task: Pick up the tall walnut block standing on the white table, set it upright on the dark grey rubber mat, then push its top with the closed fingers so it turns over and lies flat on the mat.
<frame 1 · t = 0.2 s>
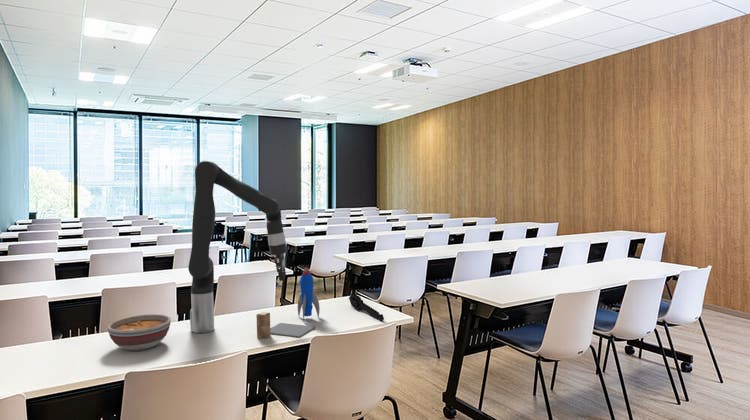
hand: (282, 278, 216), 22 cm above the table, tool pointing down, fingers open, 8 cm apart
black long tapered piece: (365, 314, 238), on the table
rubber mat: (289, 330, 212), on the table
bowl: (141, 346, 194), on the table
walnut block: (263, 336, 204), on the table
toy rocket: (306, 320, 228), on the table
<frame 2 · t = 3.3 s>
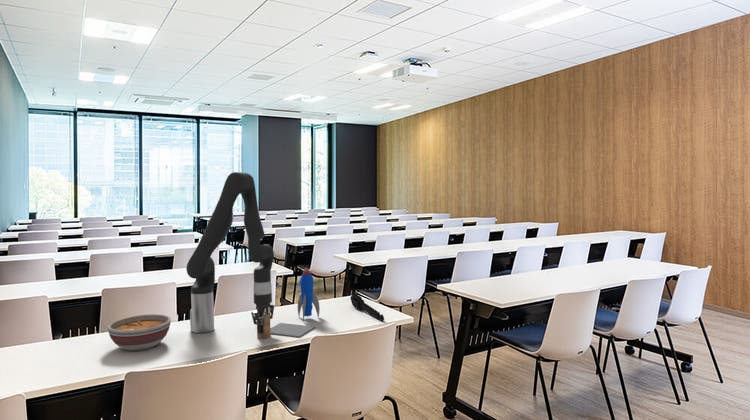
hand: (263, 331, 203), 2 cm above the table, tool pointing down, fingers closed on walnut block, 4 cm apart
walnut block: (263, 336, 204), on the table, touching gripper
everything else where it was.
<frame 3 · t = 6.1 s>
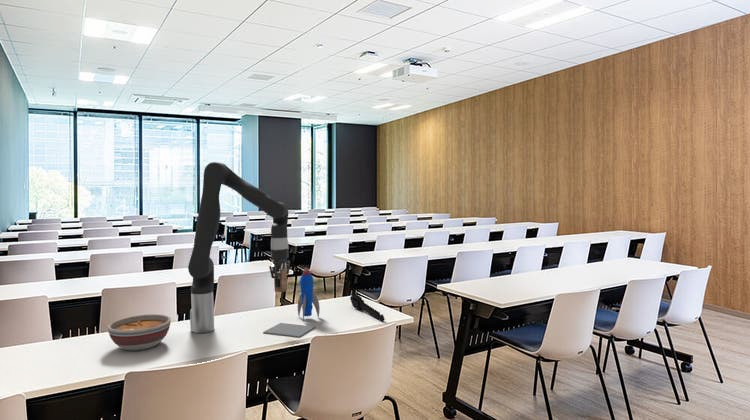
hand: (280, 285, 212), 20 cm above the table, tool pointing down, fingers closed on walnut block, 4 cm apart
walnut block: (280, 291, 212), point 17 cm above the table, touching gripper
everything else where it was.
when the fingers open (4 cm above the table, at t = 9.2 s): walnut block stays where it is, resting on rubber mat.
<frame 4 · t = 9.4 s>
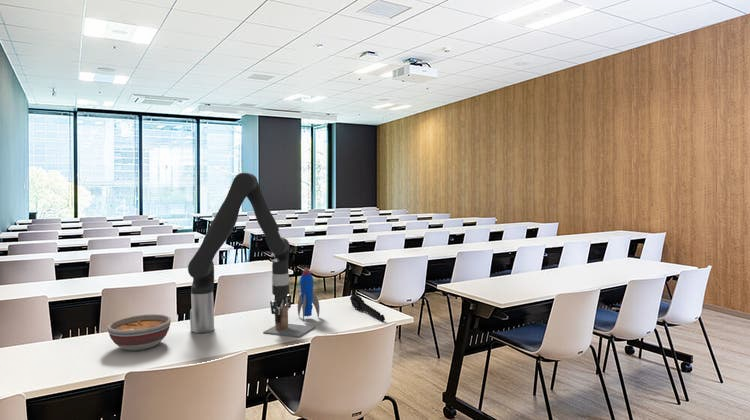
hand: (281, 320, 213), 4 cm above the table, tool pointing down, fingers open, 5 cm apart
walnut block: (281, 328, 213), point 1 cm above the table, touching rubber mat
everything else where it was.
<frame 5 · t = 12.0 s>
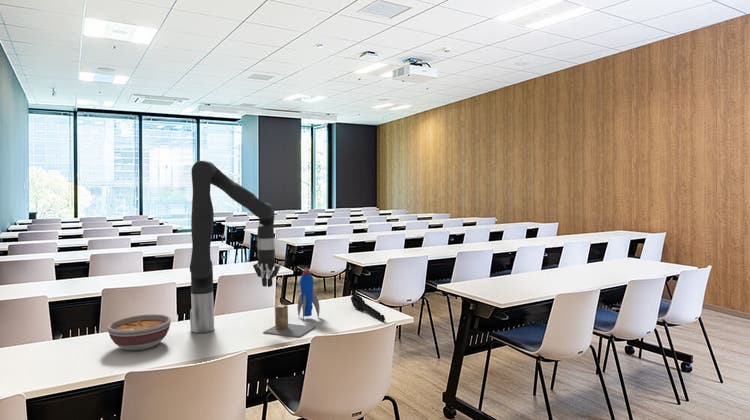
hand: (267, 286, 214), 19 cm above the table, tool pointing down, fingers closed
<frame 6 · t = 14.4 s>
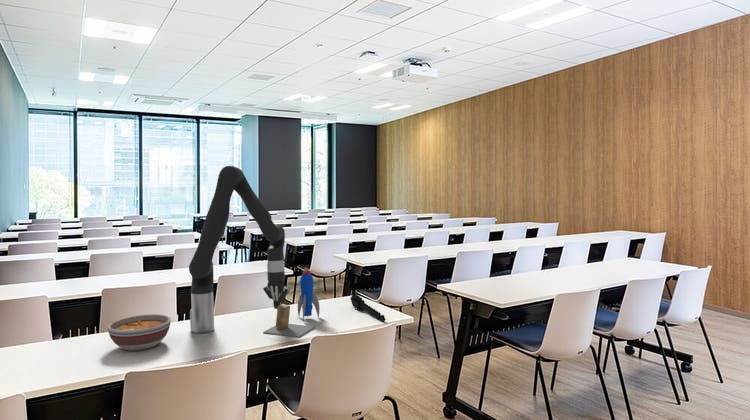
hand: (277, 308, 214), 9 cm above the table, tool pointing down, fingers closed
walnut block: (281, 327, 213), point 1 cm above the table, tilted 8°, touching rubber mat
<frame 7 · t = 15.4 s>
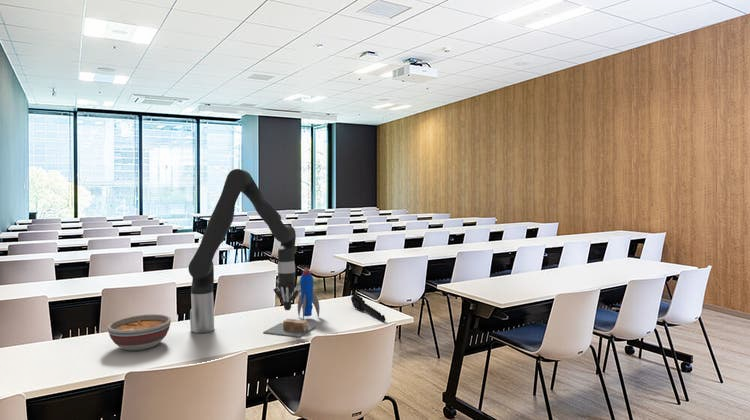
hand: (287, 309, 212), 9 cm above the table, tool pointing down, fingers closed
walnut block: (285, 324, 212), point 3 cm above the table, tilted 90°, touching rubber mat
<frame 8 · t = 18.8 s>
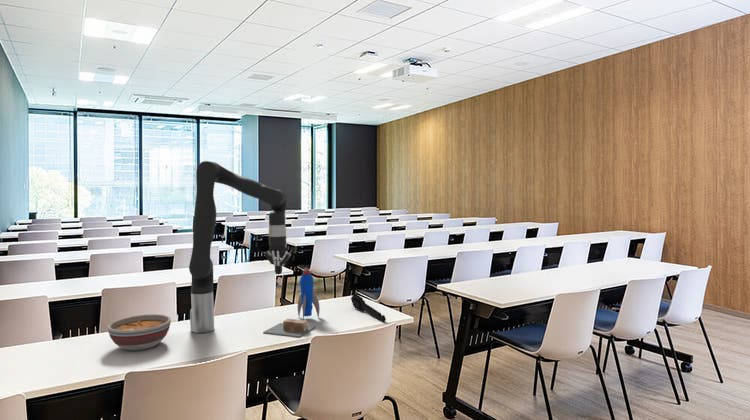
hand: (278, 273, 212), 25 cm above the table, tool pointing down, fingers closed
at the end: walnut block tilted 90°; walnut block inside the target area (2.9 cm from its centre), point 2.6 cm above the table; the gripper is holding nothing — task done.
